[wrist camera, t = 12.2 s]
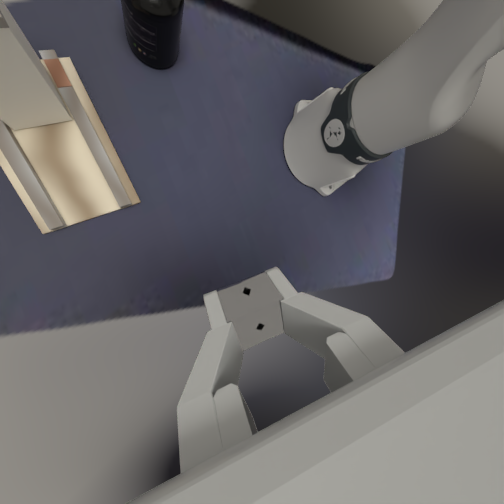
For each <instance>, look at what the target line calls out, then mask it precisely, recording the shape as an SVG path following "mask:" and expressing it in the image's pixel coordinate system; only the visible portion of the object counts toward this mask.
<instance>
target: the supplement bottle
mask: <svg viewBox="0 0 504 504" xmlns="http://www.w3.org/2000/svg"><path fill="white" fill-rule="evenodd" d="M121 4H122V10H123V16H124V23H125V29H126V35H127V39H128V42H129V45H130V47H131V49H132V50H133V52H134V53H135V54H136V56H137V57H138V58H139V59H140V60H141V61H143V62H144V63H146V64H147V65H149V66H151V67H154V68H160V69H162V68H167V67H170V66H171V65H173V64H174V62H175V61H176V59H177V57H178V52H179V43H180V34H181V25H182V16H183V7H184V0H121Z"/></svg>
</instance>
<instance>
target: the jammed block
mask: <svg viewBox="0 0 504 504" xmlns="http://www.w3.org/2000/svg"><path fill="white" fill-rule="evenodd" d="M0 120H2V121H3V122H4V123H6V124H7V125H8V126H9V127H11V128H12V129H13V130H19V129H25V128H31V127H36V126H42V125H48V124H54V123H59V122H65V121H71V120H72V118H71V117H70V115H69V113H68V111H67V109H66V107H65V105H64V103H63V101H62V99H61V97H60V95H59V93H58V92H57V90H56V88H55V86H54V84H53V82H52V80H51V78H50V76H49V74H48V72H47V70H46V69H45V67H44V65H43V64H42V62H41V61H40V59H39V58H38V56H37V54H36V53H35V51H34V50H33V48H32V47H31V45H30V43H29V42H28V40H27V39H26V37H25V36H24V34H23V32H22V31H21V29H20V28H19V26H18V25H17V23H16V21H15V20H14V18H13V17H12V15H11V14H10V12H9V10H8V9H7V7H6V6H5V4H4V3H3V1H2V0H0Z"/></svg>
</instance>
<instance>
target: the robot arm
mask: <svg viewBox="0 0 504 504" xmlns="http://www.w3.org/2000/svg"><path fill="white" fill-rule="evenodd" d="M503 49H504V0H443V1H442V2H441V4H440V5H439V6H438V8H437V9H436V10H435V11H434V13H433V14H432V15H431V16H430V17H429V19H428V20H427V21H426V22H425V23H424V24H423V25H422V26H421V27H420V28H419V29H418V30H417V31H416V32H415V33H414V34H413V35H412V36H411V37H410V38H409V39H408V40H406V41H405V42H404V43H403V44H402V45H401V46H400V47H399V48H397V49H396V50H395V51H394V52H393V53H392V54H391V55H389V56H388V57H387V58H386V59H385V60H383V61H382V62H381V63H380V64H379V65H377V66H376V67H375V68H374V69H372V70H371V71H370V72H365V73H363V74H361V75H360V76H358V77H357V78H354V79H353V80H351V81H350V82H349V83H348V84H347V85H346V86H345V87H344V88H342V89H340V88H333V87H331V88H329V89H327V90H326V91H324V92H323V93H322V94H320V95H319V96H318V97H316V98H315V99H314V100H301V101H299V102H298V103H297V104H296V106H295V110H294V116H293V119H292V121H291V122H290V124H289V125H288V127H287V130H286V133H285V137H284V153H285V158H286V161H287V164H288V166H289V168H290V170H291V172H292V173H293V174H294V176H295V177H296V178H297V179H298V180H299V181H300V182H302V183H303V184H305V185H307V186H310V187H313V188H315V189H316V190H317V191H318V192H319V193H320V194H321V195H322V196H328V195H330V194H331V193H332V192H334V191H335V190H336V189H337V188H339V187H340V186H341V185H343V184H344V183H345V182H346V181H348V180H349V179H351V178H353V177H355V175H356V174H357V173H358V172H360V171H361V170H362V169H363V168H364V167H365V166H366V165H367V164H369V163H373V162H376V161H378V160H381V159H383V158H384V157H387V156H388V155H390V154H391V153H392V152H393V151H395V150H398V149H401V148H404V147H406V146H409V145H411V144H414V143H417V142H420V141H423V140H425V139H428V138H431V137H433V136H436V135H439V134H441V133H443V132H445V131H446V130H448V129H449V128H451V127H452V126H453V125H454V124H456V123H457V122H458V121H459V120H460V119H461V118H462V117H463V116H464V115H465V114H466V112H467V111H468V109H469V108H470V106H471V105H472V103H473V101H474V99H475V97H476V94H477V92H478V89H479V86H480V83H481V81H482V77H483V74H484V70H485V66H486V63H487V61H488V60H489V59H490V58H491V57H493V56H494V55H495V54H497V53H498V52H500V51H501V50H503ZM329 187H330V188H329ZM203 298H204V302H205V306H206V310H207V315H208V318H209V323H210V326H211V330H210V331H208V332H207V333H206V336H205V338H204V341H203V344H202V346H201V349H200V351H199V353H198V356H197V359H196V361H195V364H194V366H193V369H192V371H191V373H190V376H189V378H188V381H187V383H186V386H185V388H184V391H183V393H182V396H181V398H180V401H179V403H178V406H177V419H178V435H179V452H180V468H181V474H179V475H178V476H176V477H174V478H172V479H170V480H168V481H166V482H165V483H163V484H161V485H159V486H157V487H155V488H154V489H152V490H150V491H148V492H146V493H144V494H142V495H140V496H138V497H137V498H135V499H133V500H131V501H129V502H127V503H126V504H504V300H503V301H501V302H499V303H497V304H495V305H494V306H492V307H490V308H488V309H486V310H484V311H482V312H481V313H479V314H477V315H475V316H473V317H471V318H469V319H468V320H466V321H464V322H462V323H460V324H458V325H456V326H455V327H453V328H451V329H449V330H447V331H445V332H443V333H442V334H440V335H438V336H436V337H434V338H432V339H430V340H429V341H427V342H425V343H423V344H421V345H419V346H417V347H416V348H414V349H412V350H410V351H408V352H406V353H405V352H404V351H403V350H402V349H401V348H399V347H398V346H397V345H396V344H395V343H394V342H393V341H392V340H391V339H390V338H389V337H388V336H387V335H386V334H385V333H384V332H383V331H382V330H381V329H380V328H379V327H378V326H377V325H376V324H375V323H374V322H373V321H372V320H371V319H370V318H369V317H367V316H365V315H362V314H359V313H356V312H354V311H351V310H349V309H346V308H343V307H341V306H338V305H335V304H333V303H330V302H327V301H325V300H322V299H319V298H317V297H314V296H311V295H309V294H306V293H303V292H300V293H298V292H297V291H296V290H295V289H294V287H293V286H292V285H291V284H290V282H289V281H288V280H287V278H286V277H285V276H284V275H283V273H282V272H281V271H280V269H279V268H278V267H274V268H271V269H269V270H266V271H264V272H261V273H259V274H256V275H254V276H251V277H249V278H246V279H244V280H241V281H239V282H236V283H233V284H231V285H228V286H225V287H222V288H219V289H217V290H215V291H212V292H209V293H206V294H204V295H203ZM282 333H285V334H286V335H288V336H290V337H291V338H293V339H294V340H296V341H298V342H299V343H301V344H302V345H304V346H305V347H307V348H309V349H310V350H312V351H313V352H315V353H316V354H318V355H319V356H321V357H323V358H324V359H325V367H324V381H325V383H326V385H327V386H328V388H329V390H330V391H331V393H330V394H328V395H326V396H325V397H323V398H321V399H319V400H317V401H315V402H313V403H312V404H310V405H308V406H306V407H304V408H302V409H300V410H299V411H297V412H295V413H293V414H291V415H289V416H287V417H286V418H283V419H282V420H280V421H278V422H276V423H274V424H272V425H270V426H269V427H267V428H265V429H263V430H261V431H259V432H257V429H256V426H255V423H254V419H253V417H252V415H251V413H250V411H249V408H248V406H247V404H246V402H245V400H244V398H243V396H242V394H241V392H240V390H239V388H238V381H239V376H240V370H241V364H242V359H243V351H245V350H247V349H249V348H251V347H253V346H255V345H257V344H259V343H261V342H263V341H266V340H268V339H270V338H273V337H275V336H277V335H280V334H282Z"/></svg>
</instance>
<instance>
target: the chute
mask: <svg viewBox="0 0 504 504" xmlns="http://www.w3.org/2000/svg"><path fill="white" fill-rule="evenodd" d="M39 52H40V54H41V56H42V58H43V59H41V60H40V61H41V62H42V64H43V65H44V67H45V69H46V70H47V72H48V74H49V76H50V78H51V80H52V82H53V84H54V86H55V88H56V90H57V92H58V93H59V95H60V97H61V99H62V101H63V103H64V105H65V107H66V109H67V111H68V113H69V115H70V117H71V118H72V120H71V121H65V122H59V123H54V124H48V125H42V126H36V127H31V128H25V129H19V130H13V129H12V128H11V127H9V126H8V125H7V124H6V123H4V122H3V121H2V120H0V166H1V167H2V169H3V170H4V172H5V174H6V175H7V177H8V178H9V180H10V182H11V183H12V185H13V187H14V188H15V190H16V191H17V193H18V195H19V196H20V198H21V199H22V201H23V203H24V204H25V206H26V208H27V209H28V211H29V212H30V214H31V216H32V217H33V219H34V221H35V222H36V224H37V225H38V227H39V229H40V230H41V232H42V233H43V234H46V233H49V232H52V231H55V230H58V229H61V228H65V227H68V226H71V225H74V224H77V223H80V222H83V221H86V220H89V219H92V218H95V217H98V216H101V215H104V214H107V213H110V212H113V211H116V210H119V209H123V208H126V207H129V206H132V205H135V204H138V203H141V202H140V200H139V198H138V196H137V194H136V192H135V189H134V187H133V185H132V183H131V181H130V179H129V177H128V175H127V173H126V171H125V169H124V167H123V165H122V163H121V161H120V159H119V157H118V155H117V153H116V151H115V149H114V147H113V145H112V143H111V141H110V139H109V137H108V135H107V133H106V131H105V129H104V127H103V125H102V123H101V121H100V119H99V116H98V114H97V112H96V110H95V108H94V106H93V104H92V102H91V100H90V98H89V96H88V94H87V92H86V90H85V88H84V86H83V84H82V82H81V80H80V78H79V76H78V74H77V72H76V70H75V68H74V66H73V64H72V62H71V60H70V58H69V57H66V58H58V57H57V55H56V53H55V51H54V50H42V51H39Z"/></svg>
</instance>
